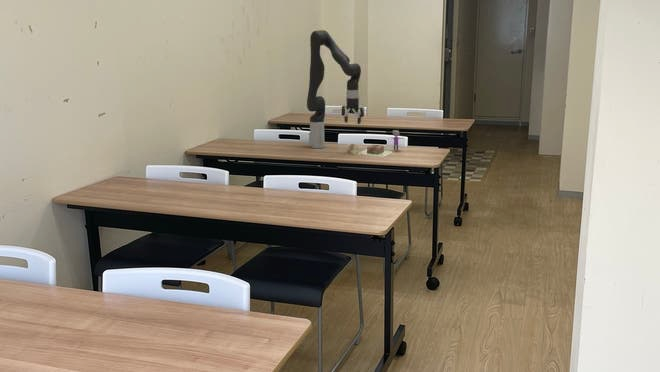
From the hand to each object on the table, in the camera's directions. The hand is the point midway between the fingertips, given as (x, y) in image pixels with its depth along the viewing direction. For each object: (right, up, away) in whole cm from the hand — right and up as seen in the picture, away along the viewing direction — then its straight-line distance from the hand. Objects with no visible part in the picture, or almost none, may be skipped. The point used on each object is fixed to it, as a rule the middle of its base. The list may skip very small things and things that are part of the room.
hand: (352, 123), depth 383 cm
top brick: (0, -19, +6) cm, 20 cm away
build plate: (+14, -19, +5) cm, 24 cm away
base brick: (+14, -18, +4) cm, 24 cm away
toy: (+27, -18, +8) cm, 34 cm away
